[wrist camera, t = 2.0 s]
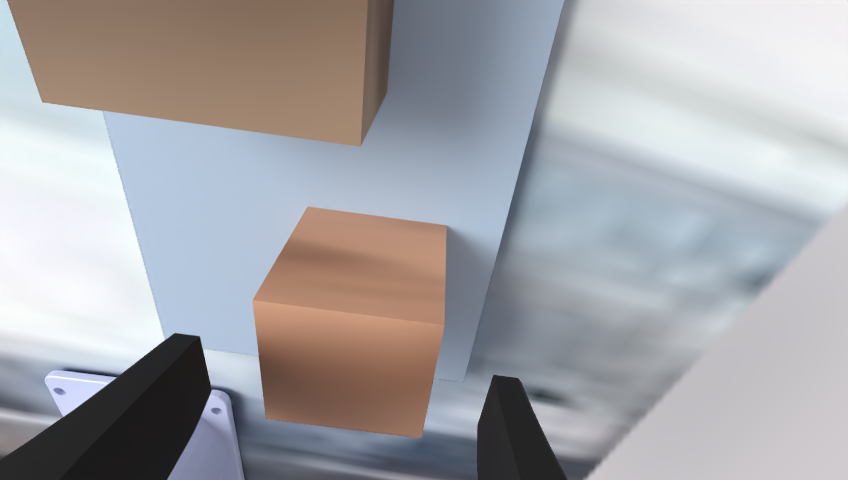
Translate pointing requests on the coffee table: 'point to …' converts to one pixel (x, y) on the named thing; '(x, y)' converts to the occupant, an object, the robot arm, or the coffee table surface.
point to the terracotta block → (353, 322)
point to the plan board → (347, 173)
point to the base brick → (216, 61)
